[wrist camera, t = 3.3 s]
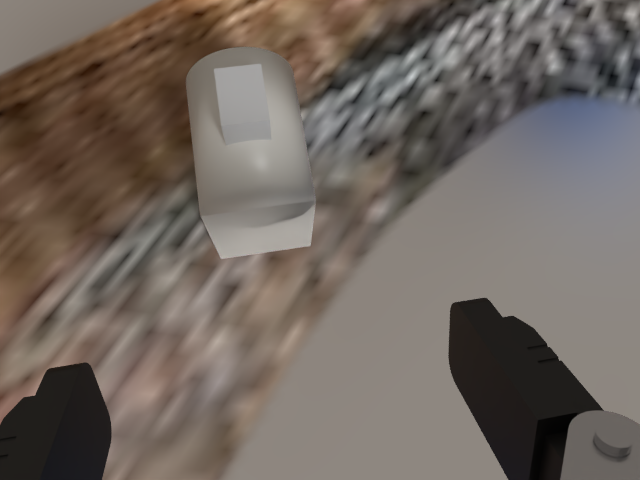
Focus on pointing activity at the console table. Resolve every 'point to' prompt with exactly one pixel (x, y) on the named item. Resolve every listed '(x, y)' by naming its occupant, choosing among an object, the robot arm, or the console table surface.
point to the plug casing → (250, 152)
